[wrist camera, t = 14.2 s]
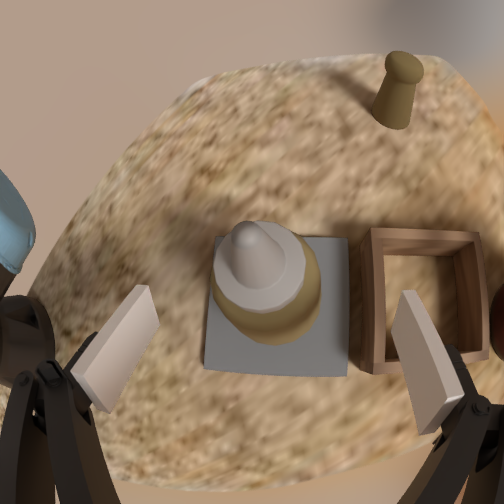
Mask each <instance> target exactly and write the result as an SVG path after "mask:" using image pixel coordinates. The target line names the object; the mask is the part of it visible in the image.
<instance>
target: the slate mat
mask: <svg viewBox="0 0 504 504" xmlns="http://www.w3.org/2000/svg"><path fill="white" fill-rule="evenodd" d="M224 238H225V236H216V239H215V248H214V257H213V262H214V258H215V255H216V250H217V248H218V247H219V245H220V244H221V242H222V241H223V239H224ZM302 238H303V239H304V240H305V241H306V243H307V244H308V245H309V246H310V247H311V249H312V250H313V251H314V252H315V256H316V259H317V262H318V266H319V269H320V273H321V293H322V297H321V304H320V311H319V315H318V317H317V318H316V320H315V322H314V323H313V325H312V327H311V328H310V330H309V331H308V332H306V333H305V334H304V335H302V336H301V337H299V338H298V339H297V340H295V341H294V342H290V343H286V344H281V345H277V346H273V345H267V344H261V343H256V342H255V341H253V340H252V339H250V338H248V337H247V336H245V335H244V334H242V333H241V332H240V331H239V330H238V329H237V328H236V327H235V326H234V325H233V324H232V323H231V322H230V321H229V320H228V319H227V318H226V317H225V316H224V314H223V313H222V311H221V310H220V308H219V307H218V305H217V304H216V302H215V301H214V299H213V294H212V288H211V286H210V297H209V307H208V319H207V331H206V343H205V357H204V369H208V370H216V371H225V372H235V373H246V374H259V375H276V376H304V377H340V376H347V367H348V348H349V255H348V238H328V237H302Z"/></svg>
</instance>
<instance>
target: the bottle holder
mask: <svg viewBox="0 0 504 504" xmlns="http://www.w3.org/2000/svg"><path fill="white" fill-rule="evenodd" d="M383 255H409V256H453V261H454V269H455V279H456V291H457V307H458V351H459V352H460V354H461V357H462V359H463V362H464V363H465V364H467V363H472V362H477V361H482V360H487V359H489V306H488V292H487V282H486V273H485V265H484V258H483V252H482V246H481V240H480V235H479V232H463V231H444V230H424V229H400V228H370V229H369V231H368V233H367V235H366V236H365V238H364V240H363V241H362V243H361V245H360V260H361V288H362V330H361V359H360V370H361V371H364V372H367V373H369V374H372V375H377V374H391V373H403V369H402V366H401V363H400V359H399V358H394V359H385V339H386V301H385V275H384V259H383Z"/></svg>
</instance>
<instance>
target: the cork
mask: <svg viewBox="0 0 504 504" xmlns="http://www.w3.org/2000/svg"><path fill="white" fill-rule="evenodd" d="M385 69H386V71H387V73H386V75H385V78H384V80H383V83H382V85H381V87H380V90H379V92H378V95H377V97H376V99H375V101H374V104H373V106H372V110H371V111H372V115H373V116H374V118H375V119H376V120H377V121H378V122H379V123H380V124H382V125H384V126H385V127H388V128H391V129H397V130H399V129H404V128H406V127H407V126H408V125H409V122H410V117H411V111H412V106H413V100H414V94H415V88H416V84H417V83H419V82H420V80H421V79H422V78H423V75H424V68H423V65H422V63H421V62H420V61H419V60H418V59H417V58H416V57H414V56H413V55H411V54H409V53H406V52H403V51H393V52H391V53H389V54H388V55H387V57H386V60H385Z"/></svg>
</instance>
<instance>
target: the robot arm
mask: <svg viewBox="0 0 504 504" xmlns="http://www.w3.org/2000/svg"><path fill="white" fill-rule="evenodd" d="M35 237H36V231H35V225H34V221H33V219H32V216H31V213H30V211H29V209H28V207H27V205H26V204H25V202H24V200H23V199H22V197H21V196H20V194H19V192H18V191H17V189H16V188H15V187H14V186H13V184H12V183H11V181H10V180H9V179H8V178H7V176H6V175H5V174H4V173H3V172H2V171H1V170H0V384H1V385H4V386H6V387H8V388H11V389H12V390H11V393H10V397H9V400H8V404H7V408H6V412H5V416H4V420H3V425H2V430H1V435H0V504H55V485H56V489H57V493H58V497H59V501H60V504H121V503H120V500H119V498H118V496H117V493H116V491H115V488H114V485H113V483H112V480H111V477H110V474H109V471H108V468H107V465H106V462H105V459H104V456H103V452H102V449H101V446H100V442H99V438H98V435H97V431H96V427H95V423H94V418H93V414H92V411H91V409H90V405H91V403H93V404H94V406H95V407H96V408H97V409H98V410H100V411H103V412H106V413H109V414H110V413H111V411H112V410H113V408H114V406H115V404H116V402H117V400H118V398H119V396H120V395H121V393H122V391H123V389H124V387H125V385H126V384H127V382H128V380H129V378H130V376H131V375H132V373H133V371H134V369H135V367H136V366H137V364H138V362H139V360H140V359H141V357H142V355H143V353H144V351H145V350H146V348H147V346H148V344H149V343H150V341H151V339H152V338H153V336H154V334H155V332H156V331H157V329H158V327H159V326H160V323H159V319H158V316H157V313H156V310H155V306H154V303H153V300H152V296H151V293H150V289H149V286H148V285H136V286H135V287H134V288H133V290H132V291H131V292H130V293H129V294H128V296H127V297H126V298H125V299H124V301H123V302H122V303H121V304H120V306H119V307H118V308H117V309H116V311H115V312H114V313H113V314H112V316H111V317H110V318H109V320H108V321H107V322H106V323H105V325H104V326H103V327H102V329H101V330H100V331H99V332H94V333H93V334H91V335H90V336H89V337H87V339H86V340H85V341H84V343H83V344H82V346H81V347H80V348H79V349H78V352H76V353H75V354H74V356H73V357H72V358H71V360H70V361H69V363H68V364H67V365H66V367H65V368H64V369H63V370H62V368H61V366H60V365H59V363H58V362H57V361H56V360H55V343H54V335H53V330H52V326H51V322H50V319H49V317H48V315H47V312H46V311H45V309H44V307H43V306H42V305H41V304H40V303H39V302H38V301H37V300H35V299H33V298H30V297H27V296H23V295H16V296H7V297H4V295H5V293H6V291H7V290H8V288H9V286H10V284H11V283H12V281H13V280H14V278H15V276H16V275H17V274H18V273H20V271H21V269H22V264H23V263H24V261H25V259H26V257H27V256H28V254H29V253H30V251H31V249H32V248H33V246H34V243H35ZM391 334H392V337H393V340H394V343H395V347H396V350H397V353H398V356H399V359H400V363H401V366H402V369H403V373H404V376H405V380H406V383H407V387H408V391H409V395H410V398H411V402H412V406H413V410H414V415H415V419H416V423H417V428H418V432H419V436H420V435H425V434H430V433H434V432H435V431H436V430H437V429H438V428H439V427H440V425H441V428H442V433H441V434H440V435H439V436H438V437H437V439H436V440H435V441H434V442H433V443H432V444H435V445H434V447H433V449H432V451H431V453H430V454H429V456H428V458H427V459H426V461H425V463H424V465H423V466H422V468H421V469H420V471H419V473H418V474H417V476H416V477H415V479H414V480H413V482H412V483H411V485H410V486H409V488H408V489H407V491H406V492H405V493H404V495H403V496H402V498H401V499H400V500H399V502H398V503H397V504H454V502H455V500H456V499H457V497H458V495H459V493H460V491H461V489H462V487H463V485H464V483H465V481H466V479H467V477H468V475H469V478H468V481H467V485H466V489H465V493H464V496H463V499H462V502H461V504H504V405H498V404H491V403H490V401H489V400H488V399H487V398H486V397H484V396H481V395H479V394H478V393H477V390H476V388H475V385H474V383H473V381H472V378H471V376H470V374H469V372H468V369H466V365H465V363H464V362H463V359H462V357H461V354H460V352H459V351H458V350H457V349H456V348H455V347H454V346H453V345H452V344H449V345H443V343H442V341H441V338H440V336H439V334H438V332H437V330H436V328H435V326H434V324H433V322H432V320H431V318H430V316H429V314H428V313H427V311H426V309H425V307H424V305H423V303H422V301H421V300H420V298H419V296H418V294H417V292H416V290H402V292H401V296H400V300H399V304H398V308H397V311H396V315H395V318H394V322H393V325H392V329H391ZM33 410H34V411H35V415H34V416H33V415H32V414H33Z"/></svg>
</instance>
